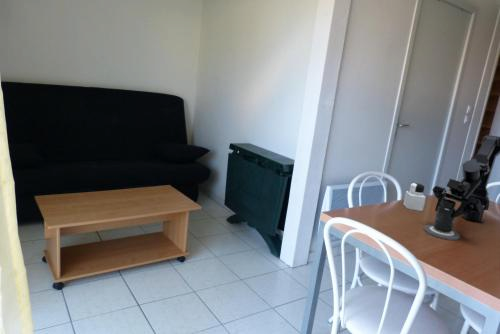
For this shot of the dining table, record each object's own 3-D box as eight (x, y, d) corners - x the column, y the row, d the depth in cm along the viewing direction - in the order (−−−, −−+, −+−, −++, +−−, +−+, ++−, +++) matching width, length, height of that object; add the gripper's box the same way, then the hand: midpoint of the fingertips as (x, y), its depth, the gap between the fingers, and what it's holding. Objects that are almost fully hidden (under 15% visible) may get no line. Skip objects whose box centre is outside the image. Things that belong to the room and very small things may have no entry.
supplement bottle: (454, 234, 142) (461, 205, 139) (435, 231, 143) (442, 202, 141) (448, 227, 149) (455, 199, 146) (430, 224, 150) (437, 197, 147)
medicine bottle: (417, 206, 180) (422, 183, 177) (423, 211, 173) (428, 187, 170) (403, 204, 180) (407, 181, 178) (407, 209, 173) (412, 185, 171)
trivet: (448, 228, 153) (449, 226, 153) (466, 241, 140) (467, 239, 140) (418, 225, 152) (418, 223, 152) (433, 238, 140) (433, 235, 140)
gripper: (440, 166, 150) (417, 193, 148) (486, 179, 135) (461, 210, 132) (447, 184, 156) (425, 210, 153) (492, 198, 140) (468, 228, 138)
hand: (443, 214), depth 144 cm, fingers closed on supplement bottle, 7 cm apart
